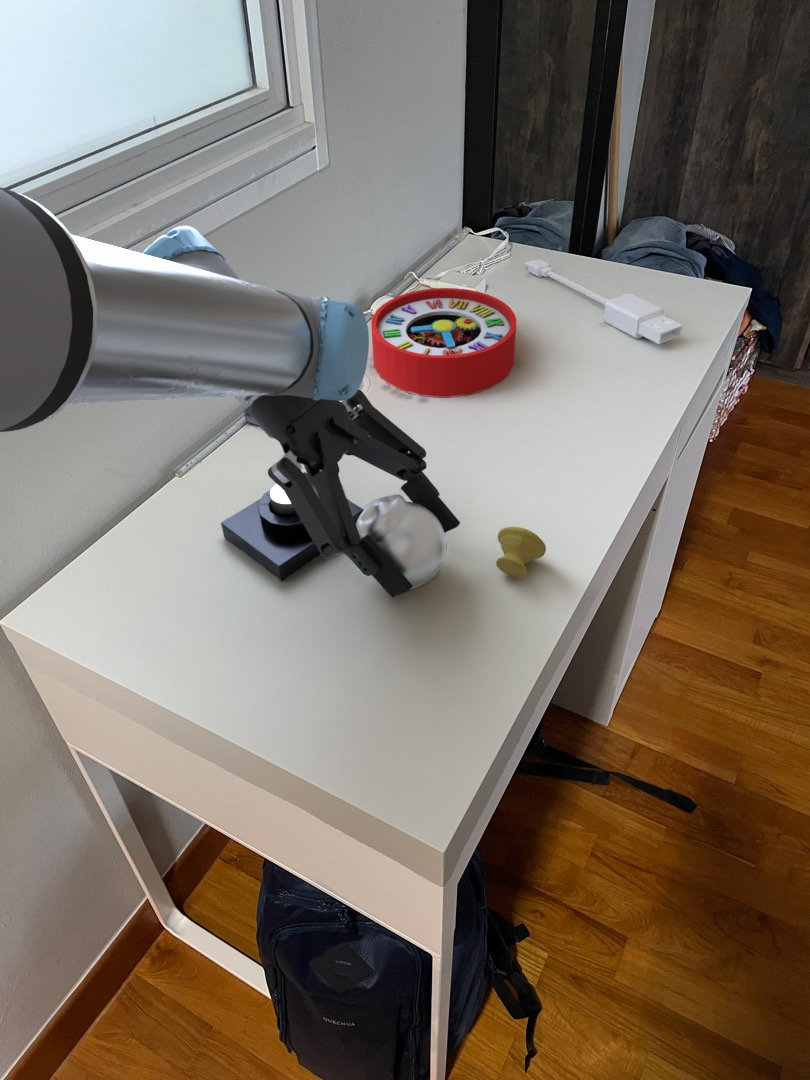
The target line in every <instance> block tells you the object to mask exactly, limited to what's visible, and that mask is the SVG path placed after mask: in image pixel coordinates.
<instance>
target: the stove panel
mask: <svg viewBox="0 0 810 1080" xmlns="http://www.w3.org/2000/svg"><path fill="white" fill-rule="evenodd" d="M303 473H304V475H305V476H306V477H307V479H308V480H309V478H308V475H307V472H306V471H305V472H303ZM309 482H310V481H309ZM310 484H311V483H310ZM311 486H312V487H313V489H314V491H315V492H316V494H317V491H316V488H315V486H314V485H312V484H311ZM270 491H271V489H269V490H268V491H266V492H264V493H263V495H262V497H261V498H259V499H258V500H256V501H255V502H253V503H251V504H250V505H248V506H246V507H245V508H243V509H241V510H239V511H238V512H236V513H234V514H232V515H231V516H229V517H228V518H227V519H225V520H223V521H221V522H220V525H221V529H222V534H223V538H225V539H226V540H227V541H228V542H229V543H231V544H232V545H234V546H235V547H236V548H237V549H238V550H240V551H242V552H243V553H244V554H245V555H246V556H248V557H249V558H250V559H252V560H253V561H254V562H256V563H257V564H259V566H261V567H262V568H263V569H265V570H266V571H267V572H268V573H270V574H271V575H273V576H274V577H276V578H277V579H278V580H279V581H281V582H283V581H285V580H286V579H287V578H289V577H290V576H292V575H293V574H295V573H297V571H299V570H300V569H302V568H304V567H305V566H307V565H308V564H309V563H311V562H312V561H314V560H315V559H317V558H318V557H319V556H322V555H321V553H320V552H319V550H318V548H317V547H316V545H315V543H314V541H313V540H312V538H311V536H310V535H309V533H308V531H307V530H306V528H305V526H304V524H303V523H302V521H301V519H300V518H299V516H296V517H291V518H285V517H279V516H277V515H276V514H275V513H274V512H273V510H272V504H271V499H270ZM317 496H318V494H317ZM318 498H319V497H318ZM347 501H348V504H349V507H350V510H351V513H352V515H353V518H354V521H355V524H356V522H357V520H358V518H359V516H360V515H361V513H362V512H363V510H364V508H362V507H361V506H359V505H357V504H356V503H354V502H353V501H351V500H350V499H348V498H347Z"/></svg>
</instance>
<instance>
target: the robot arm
mask: <svg viewBox="0 0 810 1080" xmlns="http://www.w3.org/2000/svg"><path fill="white" fill-rule="evenodd" d="M365 315H366V314H365V313H364V311H363V309H362V308H361V307H360V306H359V305H358V304H356V303H354V302H351V301H345V300H339V299H333V298H330V297H328V296H325V295H324V296H323V295H322V296H321V297H317V296H316V297H315V296H308V295H299V294H294V293H289V292H286V291H283V290H279V289H273V288H271V287H268V286H263V285H260V284H256V283H254V282H253V283H252V282H250V281H246V280H242V279H241V278H240V277H239V276H238V274H237V273H236V272H235V271H234V270H233V268H232V267H231V266H230V264H229V263H228V262H227V261H226V257H224V255H223V254H222V253H221V252H220V251H219V250H218V249H216V248H215V247H214V246H213V245H212V244H211V243H210V242H209V241H208V240H207V239H206V238H205V237H204V236H203V234H201V233H200V231H198V230H197V229H196V228H194V227H192V226H189V225H181V226H177V227H174V228H172V229H171V230H169V231H168V232H167V233H166V234H162V235H161V236H159V237H158V238H157V239H156V240H154V241H153V242H151V244H150V245H149V246H147V247H146V248H145V249H144V251H142V252H137V251H133V250H129V249H126V248H122V247H118V246H115V245H112V244H108V243H104V242H100V241H97V240H96V241H95V240H92V239H89V238H84V237H80V236H77V235H74V234H71V233H70V231H68V229H67V228H66V226H64V224H63V223H62V222H61V221H60V220H59V219H58V218H57V217H56V216H55V215H54V214H53V213H52V212H51V211H50V210H48V209H47V208H45V207H44V206H43V205H42V204H40V203H39V202H38V201H35V200H33V199H31V198H30V197H28V196H26V195H23V194H21V193H18V192H17V191H13V190H10V189H7V188H3V187H2V186H0V433H5V432H15V431H21V430H25V429H29V428H32V427H35V426H38V425H41V424H43V423H44V422H46V421H48V420H50V419H51V418H54V417H55V416H56V415H57V414H59V412H60V411H63V409H64V408H65V407H66V406H67V405H69V404H89V403H91V404H92V403H93V404H94V403H112V402H113V403H115V402H133V401H134V402H136V401H137V402H138V401H157V400H159V401H160V400H180V399H181V400H182V399H200V398H204V399H205V398H221V397H222V398H224V397H225V398H227V397H234V399H235V400H236V401H237V402H238V403H239V404H246V403H248V405H249V406H250V405H251V407H250V408H249V411H250V413H249V414H250V416H251V417H252V418H253V419H254V420H255V421H256V422H257V424H258V425H257V426H259V427H260V429H262V430H263V432H264V433H265V434H266V435H267V437H269V438H270V439H274V440H276V441H277V442H278V443H279V444H280V446H281V449H282V451H283V455H282V456H281V458H280V459H279V460H278V461H277V462H275V463H274V464H273V465H272V466H270V467H269V468H268V469H267V475H268V477H269V479H270V480H272V481H273V482H274V483H275V485H276V484H277V485H279V486H280V487H281V488H282V489H283V490H284V492H285V494H286V495H287V497H288V499H289V500H290V502H291V504H292V506H293V507H294V509H295V511H296V512H297V514H298V516H299V518H300V519H301V521H302V523H303V524H304V526H305V528H306V530H307V531H308V533H309V535H310V536H311V538H312V540H313V541H314V543H315V545H316V547H317V548H318V550H319V552H320V553H321V555H320V556H322V558H324V559H327V560H328V559H330V558H332V557H335V556H337V555H340V554H344V555H345V556H347V557H348V559H350V560H351V562H352V563H353V564H354V565H355V566H356V567H357V569H358V570H359V571H360V572H361V573H362V574H363V575H365V576H366V577H371V575H372V576H373V577H374V578H375V579H376V580H377V581H378V582H379V583H378V582H377V581H376V582H377V583H378V584H379V585H380V586H381V587H382V588H383V589H384V591H385V592H387V594H388V596H390V597H391V598H392V599H393V598H395V597H398V596H400V595H402V594H405V593H407V592H409V591H410V590H412V589H411V587H412V586H413V585H412V584H411V583H410V582H409V581H408V580H407V578H406V577H405V576H404V575H403V574H402V573H401V572H400V570H399V569H398V568H397V567H396V566H395V565H394V564H393V562H392V561H391V560H390V559H389V558H388V557H387V556H386V554H385V553H384V552H383V551H382V550H381V549H380V548H379V546H378V545H377V544H376V543H375V542H374V541H373V540H372V538H371V537H370V536H369V535H366V536H365V537H363V538H361V539H360V535H359V532H358V530H357V527H356V524H355V521H354V518H353V515H352V513H351V510H350V507H349V504H348V501H347V499H348V497H347V495H346V493H345V490H344V486H343V484H342V482H341V481H342V480H341V479H340V476H339V475H340V466H339V462H340V461H341V460H342V459H343V457H344V455H346V456H353V457H355V458H357V459H359V460H362V461H364V462H366V463H368V464H370V465H371V466H373V467H376V469H377V468H378V469H379V470H382V471H383V472H385V473H387V474H388V475H391V476H393V477H395V478H396V479H398V480H401V481H402V482H404V481H405V482H404V483H403V484H402V485H401V487H400V490H401V491H402V492H403V493H404V494H405V495H406V496H407V498H408V499H409V500H410V502H412V503H416V504H419V505H421V506H423V507H425V508H426V509H428V510H429V511H430V512H432V513H433V514H434V515H435V516H436V517H437V519H438V520H439V522H440V523H441V525H442V527H443V529H444V532H445V534H446V533H448V532H450V531H452V530H454V529H457V528H458V527H459V526H460V524H461V521H460V520H459V519H458V518H457V517H456V516H455V514H454V513H453V512H452V511H451V509H450V508H449V507H448V506H447V505H446V504H445V502H444V501H443V500H442V499H441V498H440V495H441V494H440V492H439V490H438V488H437V487H436V486H435V485H434V484H433V483H432V481H431V480H430V479H429V478H428V477H427V475H426V474H425V473H424V472H423V471H424V470H426V469H427V467H428V466H427V465H428V464H427V462H426V461H425V458H426V457H427V451H426V449H425V448H424V447H423V446H421V445H420V444H419V443H418V442H416V441H415V440H414V439H413V438H412V437H411V436H409V434H407V433H406V432H404V431H403V430H402V429H401V428H400V427H399V426H398V425H396V424H395V423H394V422H393V421H391V420H390V419H389V418H388V417H386V416H385V415H384V414H383V413H382V412H381V411H379V410H378V409H377V408H376V407H375V406H373V404H372V403H371V401H370V399H368V397H367V396H366V395H365V393H364V392H363V391H362V390H361V389H360V387H361V385H362V384H363V381H364V377H365V374H366V370H367V364H368V358H369V351H370V350H369V349H370V348H369V347H370V333H369V326H368V321H367V317H366V316H365ZM350 418H351V420H352V421H353V422H354V423H355V424H356V425H357V426H356V425H354V424H352V423H351V422H350V420H349V419H350ZM302 465H303V466H304V470H305V473H307V475H308V478H309V480H308V479H307V477H306V476H305V475H304V472H303V471H302V470H301V469H302ZM309 481H310V482H309ZM310 483H311V484H312V485H314V486H315V488H316V491H317V494H318V496H317V494H316V492H315V491H314V489H313V487H312V486H311V484H310ZM318 497H319V498H318Z"/></svg>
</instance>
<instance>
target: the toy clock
mask: <svg viewBox="0 0 810 1080" xmlns="http://www.w3.org/2000/svg"><path fill="white" fill-rule="evenodd" d="M370 326H371V327H370V329H371V343H372V358H373V360H372V361H373V367H374V370H375V373H376V374H377V375H378V377H380V379H381V380H383V381H384V382H385V383H387V384H388V385H390V386H392V387H393V388H395V389H397V390H399V391H403V392H405V393H408V394H411V395H412V394H413V395H417V396H421V397H423V396H424V397H429V398H432V397H433V398H453V397H463V396H468V395H472V394H476V393H480V392H483V391H485V390H488V389H490V388H493V387H494V386H496V385H498V384H499V383H501V382H502V381H503V380H505V379H506V378H507V377H508V376H509V374H510V373H511V372H512V371H513V368H514V366H515V353H516V337H517V317H516V313H515V312H514V311H513V310H512V308H511V307H510V306H509V305H508V304H507V303H505V302H504V301H502V300H500V299H499V298H497V297H495V296H493V295H490V294H488V293H484V292H481V291H477V290H473V289H472V290H471V289H466V288H456V287H433V288H427V289H418V290H415V291H409V292H407V293H403V294H401V295H398V296H396V297H394V298H392V299H389V300H388V301H386V302H384V303H383V304H382V305H381V306H380V307H378V308H377V309H376V311H375V312H374V314H373V315H372V317H371V321H370Z"/></svg>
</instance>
